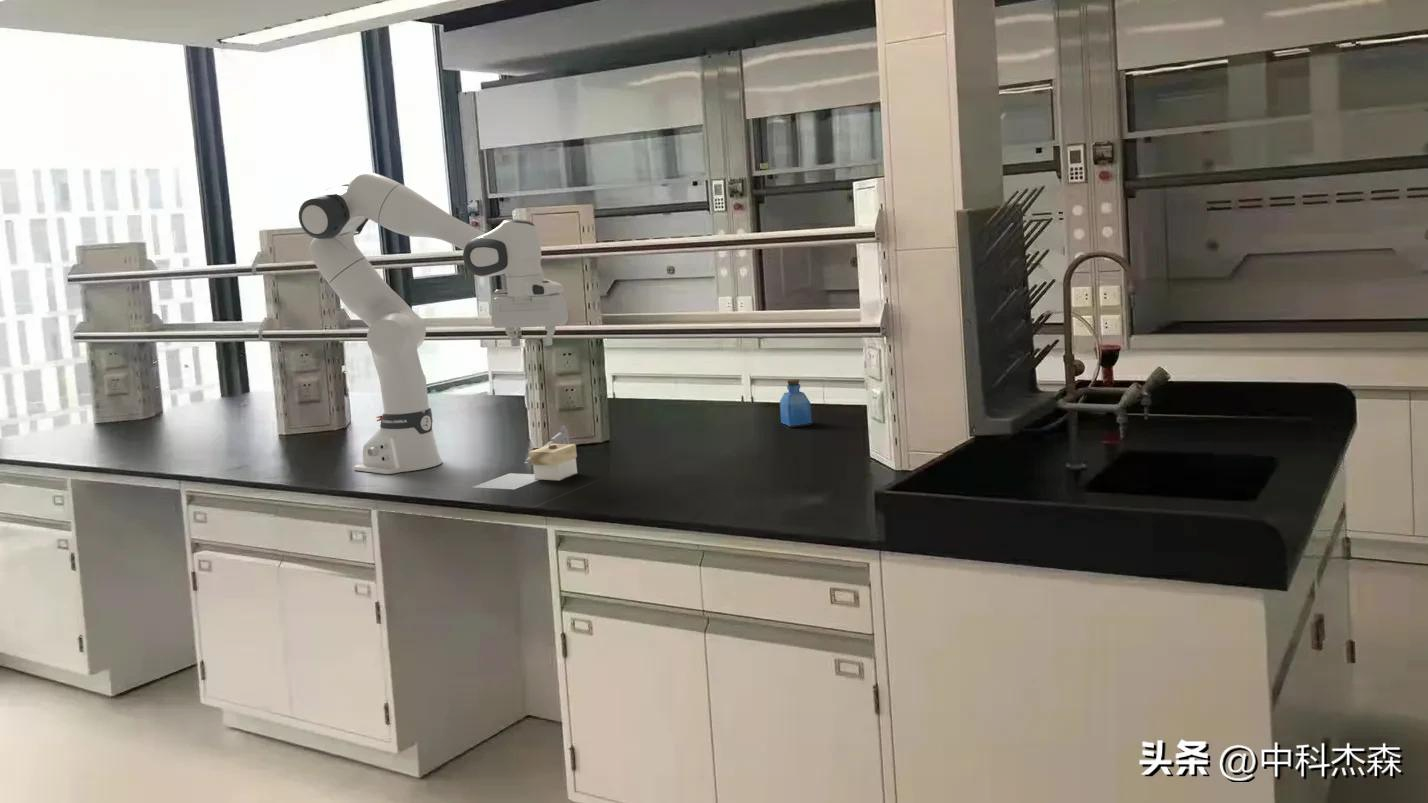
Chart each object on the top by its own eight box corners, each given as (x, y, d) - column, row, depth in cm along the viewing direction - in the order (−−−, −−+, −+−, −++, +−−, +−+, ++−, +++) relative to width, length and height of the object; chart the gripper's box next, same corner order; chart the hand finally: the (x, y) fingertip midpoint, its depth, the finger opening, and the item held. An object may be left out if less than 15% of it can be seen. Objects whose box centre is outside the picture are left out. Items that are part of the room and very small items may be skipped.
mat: (471, 489, 269) (471, 487, 269) (509, 475, 281) (509, 473, 281) (514, 491, 264) (514, 489, 263) (551, 476, 276) (551, 474, 276)
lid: (530, 464, 271) (529, 449, 270) (553, 456, 279) (552, 441, 278) (554, 465, 268) (552, 449, 267) (576, 457, 276) (575, 441, 275)
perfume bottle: (781, 425, 319) (778, 380, 317) (802, 422, 321) (799, 377, 319) (789, 428, 313) (786, 382, 311) (811, 425, 315) (808, 380, 313)
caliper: (566, 448, 311) (564, 424, 310) (570, 448, 310) (567, 424, 309) (523, 466, 292) (520, 440, 291) (527, 466, 292) (524, 440, 291)
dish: (534, 480, 272) (532, 463, 272) (552, 473, 279) (550, 457, 278) (559, 481, 269) (558, 464, 269) (577, 474, 275) (575, 457, 275)
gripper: (482, 290, 285) (488, 348, 288) (553, 287, 276) (559, 346, 278) (499, 288, 291) (505, 345, 293) (568, 284, 281) (574, 343, 283)
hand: (531, 345), depth 285 cm, fingers open, 8 cm apart
